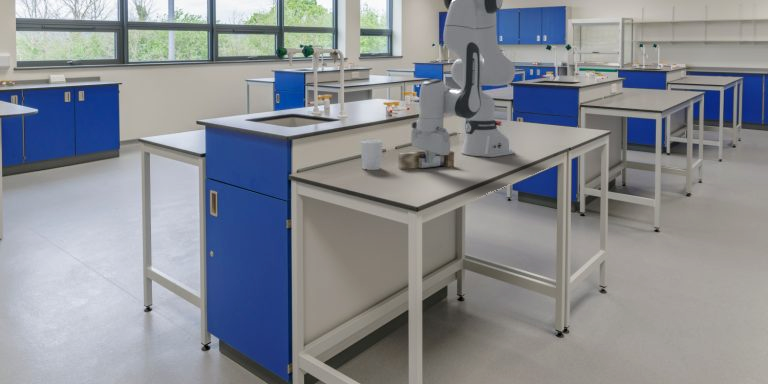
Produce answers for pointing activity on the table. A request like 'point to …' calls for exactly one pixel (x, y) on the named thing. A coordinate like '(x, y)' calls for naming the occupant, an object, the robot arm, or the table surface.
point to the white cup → (371, 154)
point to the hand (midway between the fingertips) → (429, 163)
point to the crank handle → (437, 161)
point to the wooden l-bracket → (413, 160)
